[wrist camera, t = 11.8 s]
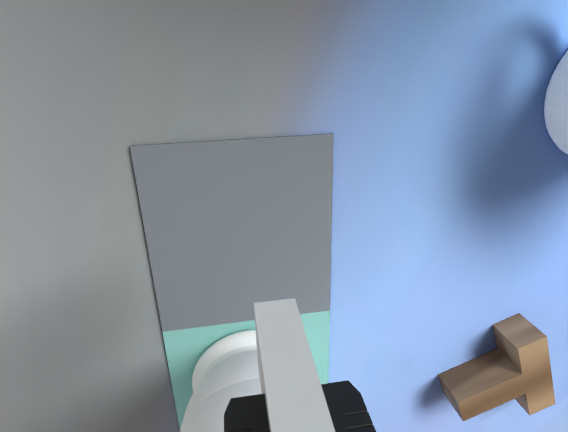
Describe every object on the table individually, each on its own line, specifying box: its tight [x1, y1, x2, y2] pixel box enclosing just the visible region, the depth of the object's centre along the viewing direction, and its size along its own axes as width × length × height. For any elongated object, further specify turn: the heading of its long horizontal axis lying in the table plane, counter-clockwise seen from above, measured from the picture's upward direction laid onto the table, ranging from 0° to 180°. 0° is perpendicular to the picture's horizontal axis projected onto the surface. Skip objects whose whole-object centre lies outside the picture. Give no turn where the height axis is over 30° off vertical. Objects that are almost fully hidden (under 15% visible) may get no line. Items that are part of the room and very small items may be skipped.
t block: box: [438, 313, 555, 421], centre depth 33 cm, size 8×8×3 cm
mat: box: [130, 134, 333, 430], centre depth 29 cm, size 26×12×1 cm, turn 2°
